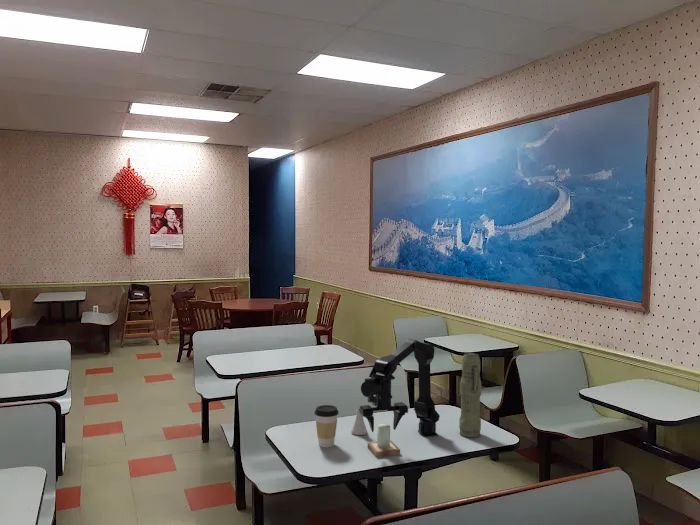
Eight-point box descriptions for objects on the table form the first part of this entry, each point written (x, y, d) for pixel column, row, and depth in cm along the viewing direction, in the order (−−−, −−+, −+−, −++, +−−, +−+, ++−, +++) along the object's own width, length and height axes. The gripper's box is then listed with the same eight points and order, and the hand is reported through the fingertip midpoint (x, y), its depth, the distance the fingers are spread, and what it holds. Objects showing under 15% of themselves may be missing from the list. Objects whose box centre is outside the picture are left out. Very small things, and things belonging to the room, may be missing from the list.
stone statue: (472, 428, 249) (473, 350, 247) (486, 438, 238) (487, 356, 236) (454, 430, 246) (455, 351, 244) (467, 440, 235) (468, 357, 233)
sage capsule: (387, 443, 226) (387, 423, 226) (391, 447, 221) (392, 427, 221) (375, 444, 225) (375, 424, 224) (379, 449, 220) (380, 428, 219)
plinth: (390, 445, 229) (390, 440, 229) (400, 454, 220) (400, 449, 220) (367, 447, 226) (367, 442, 226) (375, 457, 217) (375, 452, 217)
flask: (366, 436, 239) (366, 413, 238) (349, 435, 240) (349, 412, 240) (369, 430, 246) (369, 408, 245) (352, 429, 247) (352, 406, 247)
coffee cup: (341, 441, 233) (342, 406, 232) (333, 450, 223) (333, 413, 223) (319, 438, 236) (319, 403, 235) (310, 447, 227) (310, 410, 226)
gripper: (398, 384, 232) (397, 421, 233) (355, 387, 227) (354, 426, 227) (408, 392, 221) (408, 431, 222) (363, 395, 216) (363, 435, 217)
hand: (383, 430), depth 222 cm, fingers open, 9 cm apart
